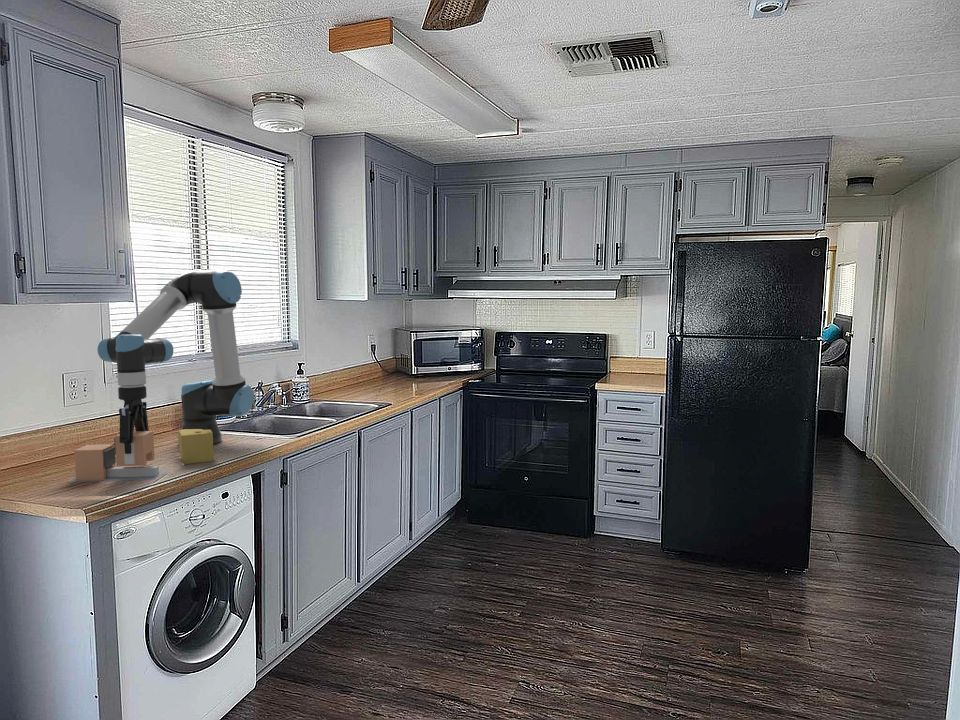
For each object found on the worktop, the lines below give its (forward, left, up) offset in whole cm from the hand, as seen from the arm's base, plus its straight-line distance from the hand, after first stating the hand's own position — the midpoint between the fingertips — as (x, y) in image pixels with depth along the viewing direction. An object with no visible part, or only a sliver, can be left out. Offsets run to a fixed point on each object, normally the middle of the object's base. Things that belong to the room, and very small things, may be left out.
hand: (135, 460), depth 206 cm
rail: (0, -5, -6) cm, 8 cm away
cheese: (-23, +10, -6) cm, 26 cm away
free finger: (0, 0, -1) cm, 1 cm away
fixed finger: (0, -12, -5) cm, 13 cm away
